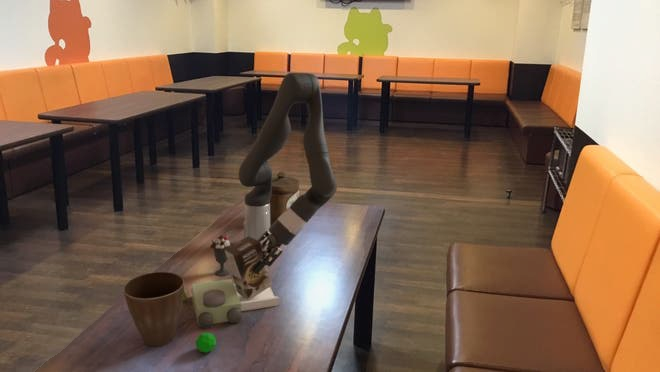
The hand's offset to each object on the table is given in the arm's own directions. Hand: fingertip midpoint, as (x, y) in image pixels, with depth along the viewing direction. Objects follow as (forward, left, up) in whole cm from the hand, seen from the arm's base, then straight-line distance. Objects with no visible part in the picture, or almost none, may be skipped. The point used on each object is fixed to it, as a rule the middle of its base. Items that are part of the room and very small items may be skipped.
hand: (251, 266), depth 162 cm
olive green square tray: (-19, -15, -11) cm, 27 cm away
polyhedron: (+10, -27, -11) cm, 31 cm away
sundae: (-20, +7, -11) cm, 24 cm away
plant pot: (-4, -31, -11) cm, 33 cm away
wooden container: (-36, +56, -11) cm, 68 cm away
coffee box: (0, +1, -8) cm, 8 cm away
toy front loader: (-1, -6, -11) cm, 12 cm away
